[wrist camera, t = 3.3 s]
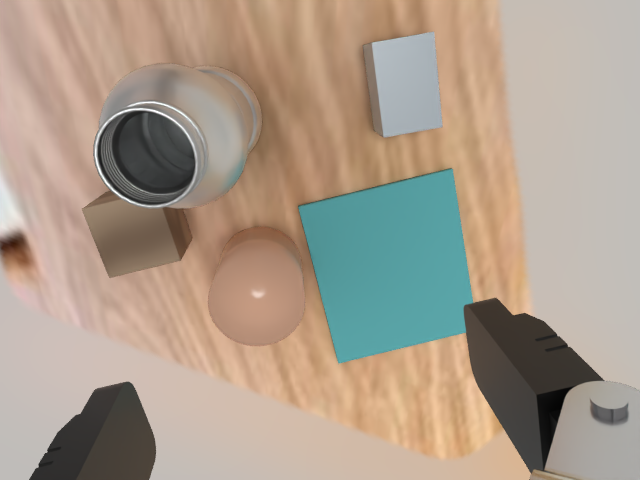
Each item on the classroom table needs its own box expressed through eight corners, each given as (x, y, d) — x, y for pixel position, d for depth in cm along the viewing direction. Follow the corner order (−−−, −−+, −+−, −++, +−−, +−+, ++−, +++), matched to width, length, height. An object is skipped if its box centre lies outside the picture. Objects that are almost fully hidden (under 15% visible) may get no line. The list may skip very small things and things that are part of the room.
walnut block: (106, 191, 38) (81, 209, 34) (171, 175, 38) (156, 190, 34) (129, 253, 40) (109, 278, 35) (192, 237, 40) (180, 260, 35)
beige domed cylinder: (209, 237, 40) (195, 271, 33) (290, 218, 40) (291, 247, 33) (233, 310, 42) (224, 355, 35) (310, 291, 42) (315, 333, 35)
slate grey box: (362, 45, 36) (371, 42, 33) (418, 35, 36) (433, 31, 33) (373, 130, 38) (383, 137, 35) (426, 121, 38) (442, 126, 35)
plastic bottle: (229, 177, 39) (178, 281, 20) (151, 121, 37) (11, 174, 18) (281, 107, 37) (280, 145, 18) (202, 45, 36) (110, 16, 17)
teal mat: (298, 205, 40) (298, 207, 39) (451, 168, 39) (452, 169, 39) (337, 360, 44) (338, 363, 44) (475, 327, 44) (477, 329, 44)
